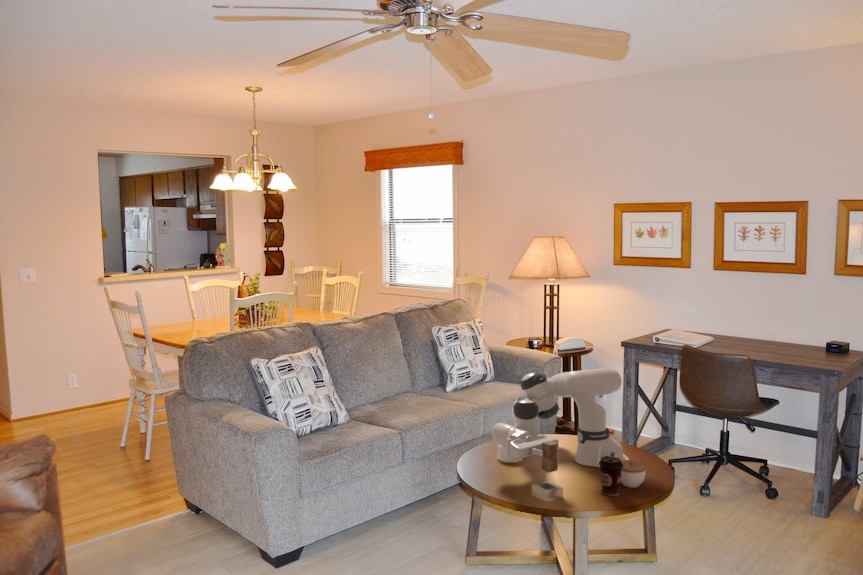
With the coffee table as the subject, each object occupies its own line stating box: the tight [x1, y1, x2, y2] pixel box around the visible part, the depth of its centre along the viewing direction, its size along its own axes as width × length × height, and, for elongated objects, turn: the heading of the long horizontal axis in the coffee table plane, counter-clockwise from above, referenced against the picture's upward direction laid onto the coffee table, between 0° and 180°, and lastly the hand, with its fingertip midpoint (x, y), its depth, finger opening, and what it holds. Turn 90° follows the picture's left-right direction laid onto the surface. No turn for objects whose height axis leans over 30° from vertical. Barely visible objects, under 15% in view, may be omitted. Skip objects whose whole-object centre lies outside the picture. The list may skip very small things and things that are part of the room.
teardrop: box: [496, 444, 524, 463], centre depth 290 cm, size 11×11×12 cm
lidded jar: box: [620, 459, 647, 489], centre depth 260 cm, size 11×11×9 cm
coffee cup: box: [599, 456, 623, 497], centre depth 252 cm, size 9×8×13 cm
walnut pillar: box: [541, 441, 558, 473], centre depth 248 cm, size 4×4×10 cm
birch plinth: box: [531, 480, 564, 503], centre depth 251 cm, size 8×8×4 cm
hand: (549, 452), depth 248 cm, fingers closed on walnut pillar, 4 cm apart
